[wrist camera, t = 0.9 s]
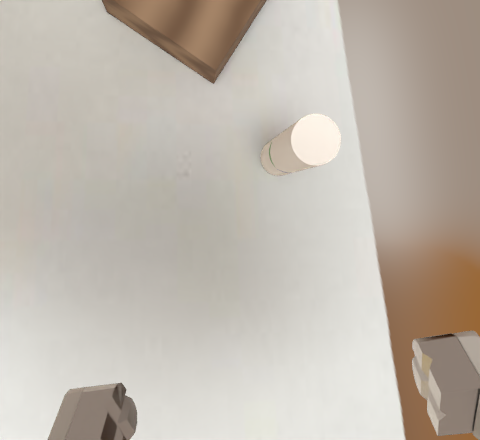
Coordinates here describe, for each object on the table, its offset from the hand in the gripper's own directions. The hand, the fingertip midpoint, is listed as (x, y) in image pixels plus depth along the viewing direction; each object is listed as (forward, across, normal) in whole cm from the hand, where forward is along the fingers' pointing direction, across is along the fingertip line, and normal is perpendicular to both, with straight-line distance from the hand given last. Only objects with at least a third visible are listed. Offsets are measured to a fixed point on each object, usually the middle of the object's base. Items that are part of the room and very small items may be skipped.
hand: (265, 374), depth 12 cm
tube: (+38, -2, +12) cm, 40 cm away
